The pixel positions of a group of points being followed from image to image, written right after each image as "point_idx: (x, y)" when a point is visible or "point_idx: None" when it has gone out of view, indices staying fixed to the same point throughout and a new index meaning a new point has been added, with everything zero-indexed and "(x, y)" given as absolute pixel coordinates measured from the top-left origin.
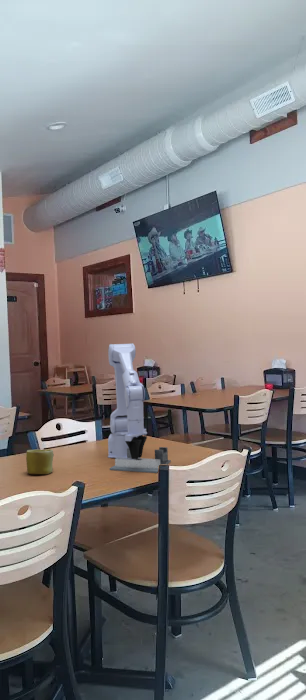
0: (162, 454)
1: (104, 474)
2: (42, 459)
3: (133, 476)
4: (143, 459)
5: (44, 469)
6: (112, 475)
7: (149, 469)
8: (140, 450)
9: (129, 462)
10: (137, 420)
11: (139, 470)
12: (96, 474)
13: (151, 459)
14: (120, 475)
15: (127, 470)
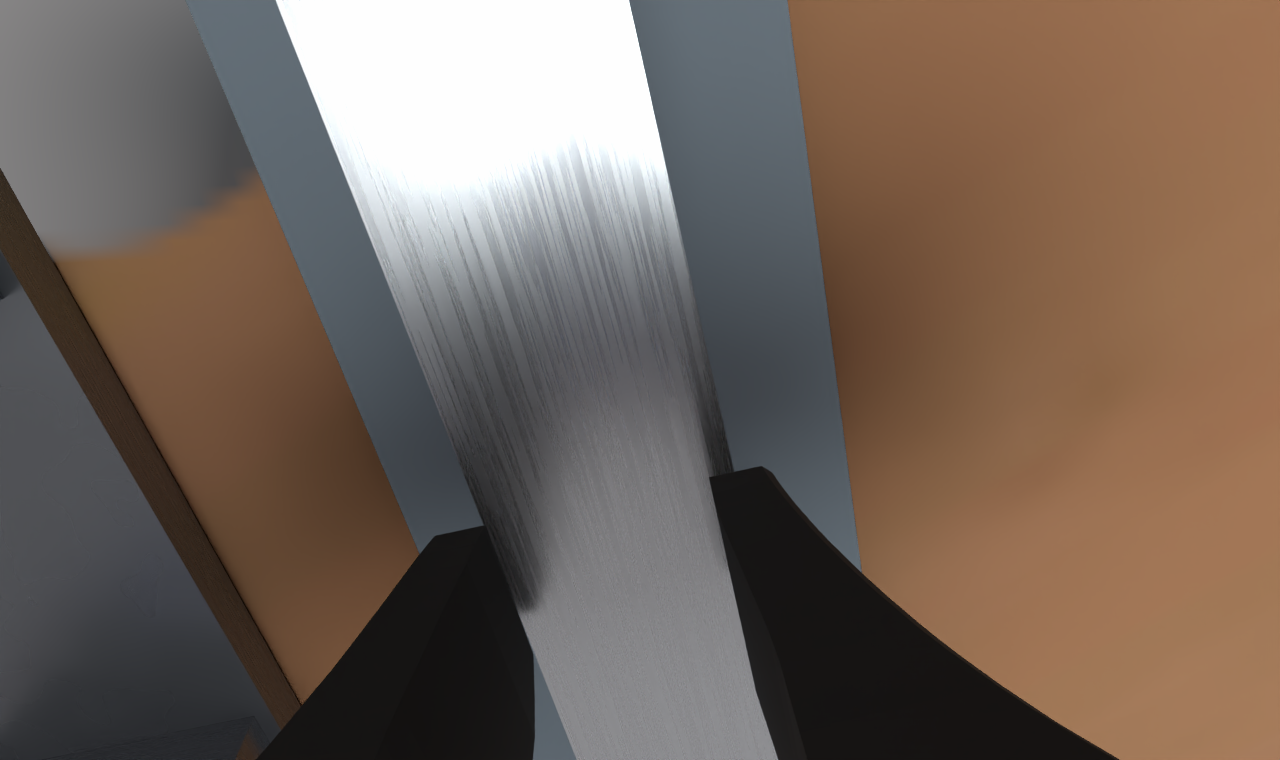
0: None
1: (1191, 649)
2: None
3: (1245, 79)
4: (574, 351)
5: None
6: (1236, 507)
7: (645, 19)
8: (444, 694)
9: None
10: None
11: (814, 220)
12: (1216, 737)
13: (431, 104)
14: (1208, 385)
15: (843, 479)
